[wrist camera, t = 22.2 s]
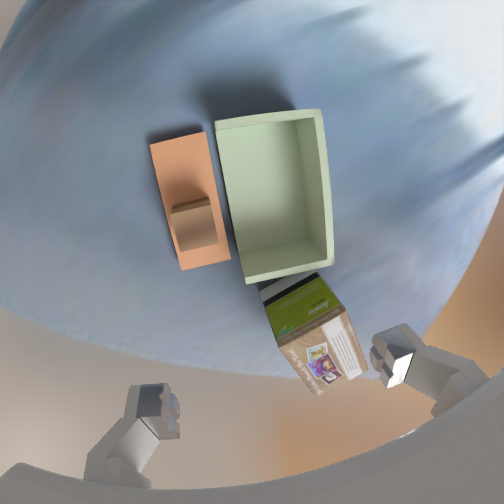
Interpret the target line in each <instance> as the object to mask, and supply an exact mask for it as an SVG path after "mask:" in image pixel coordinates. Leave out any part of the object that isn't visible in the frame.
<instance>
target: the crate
mask: <svg viewBox="0 0 504 504" xmlns="http://www.w3.org/2000/svg"><path fill="white" fill-rule="evenodd" d="M214 128H215V133H216V139H217V144H218V149H219V155H220V160H221V165H222V171H223V176H224V181H225V187H226V192H227V197H228V202H229V207H230V212H231V218H232V223H233V228H234V233H235V238H236V243H237V248H238V253H239V258H240V262H241V266H242V270H243V274H244V278H245V282H246V284H250V283H255V282H260V281H264V280H269V279H273V278H278V277H282V276H287V275H291V274H296V273H300V272H304V271H309V270H313V269H317V268H321V267H326V266H330V265H334V237H333V218H332V203H331V190H330V179H329V168H328V159H327V150H326V141H325V133H324V126H323V119H322V112H321V108H320V109H304V110H292V111H282V112H273V113H264V114H257V115H250V116H243V117H237V118H231V119H225V120H219V121H215V123H214Z"/></svg>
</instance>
